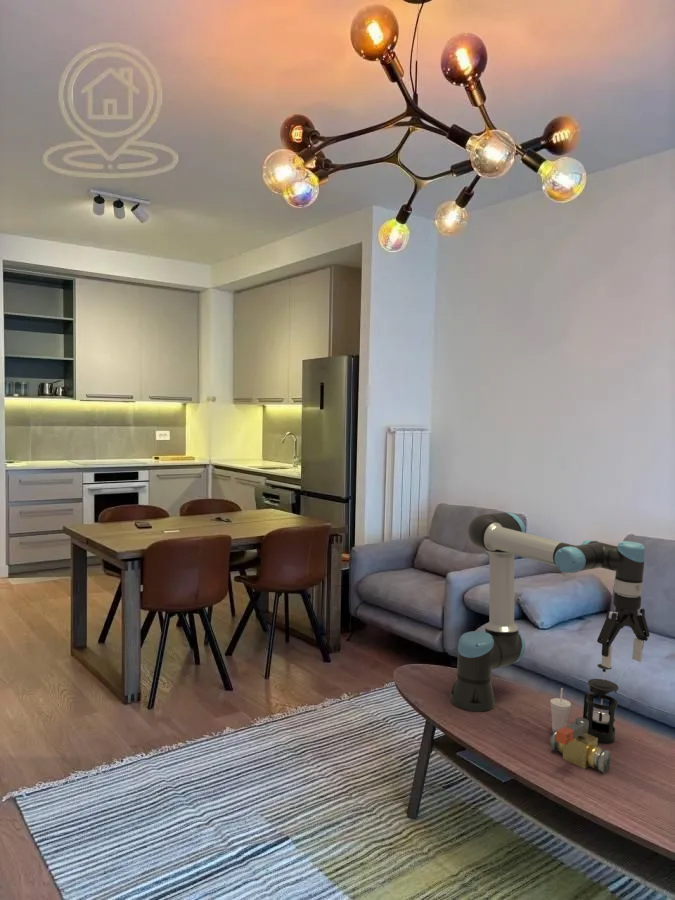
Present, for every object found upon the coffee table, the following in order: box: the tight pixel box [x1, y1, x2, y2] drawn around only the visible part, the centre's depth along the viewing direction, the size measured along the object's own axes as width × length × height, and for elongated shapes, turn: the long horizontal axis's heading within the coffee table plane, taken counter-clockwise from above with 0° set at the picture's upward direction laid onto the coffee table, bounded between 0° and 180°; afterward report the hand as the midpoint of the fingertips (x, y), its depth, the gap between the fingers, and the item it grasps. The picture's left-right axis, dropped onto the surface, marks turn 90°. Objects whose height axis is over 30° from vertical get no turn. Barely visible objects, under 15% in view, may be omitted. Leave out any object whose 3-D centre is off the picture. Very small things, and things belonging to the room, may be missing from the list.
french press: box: [582, 663, 619, 745], centre depth 212 cm, size 12×9×23 cm
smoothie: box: [549, 687, 572, 733], centre depth 213 cm, size 6×6×14 cm
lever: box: [556, 717, 589, 745], centre depth 193 cm, size 13×4×3 cm, turn 132°
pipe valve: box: [549, 729, 612, 774], centre depth 196 cm, size 16×6×9 cm, turn 42°
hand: (621, 663), depth 202 cm, fingers open, 13 cm apart
